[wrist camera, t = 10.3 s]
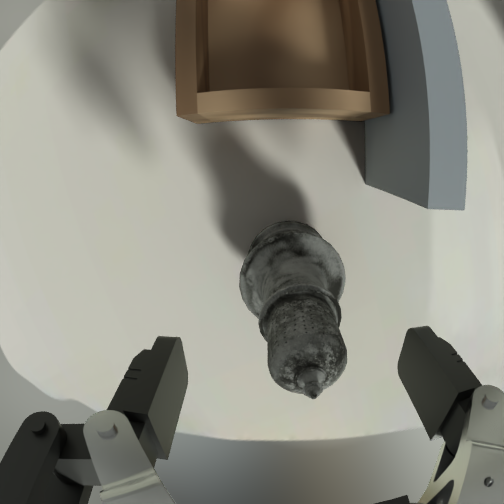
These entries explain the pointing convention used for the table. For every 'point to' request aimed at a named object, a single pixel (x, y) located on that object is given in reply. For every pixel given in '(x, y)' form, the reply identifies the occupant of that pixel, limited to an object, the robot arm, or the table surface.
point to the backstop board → (420, 108)
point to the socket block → (279, 60)
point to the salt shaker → (297, 305)
